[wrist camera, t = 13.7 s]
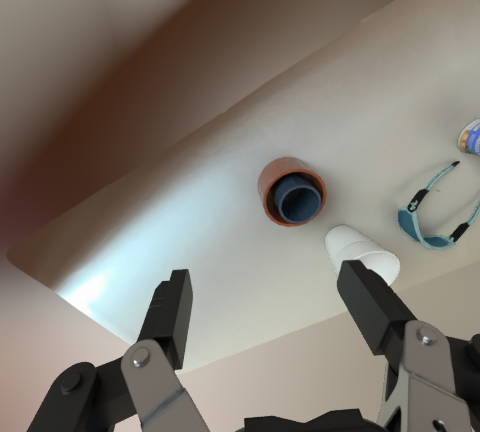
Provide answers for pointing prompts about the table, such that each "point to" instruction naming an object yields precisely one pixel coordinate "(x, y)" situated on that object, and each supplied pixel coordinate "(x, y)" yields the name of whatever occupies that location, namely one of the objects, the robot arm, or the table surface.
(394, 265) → the cup
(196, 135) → the table surface
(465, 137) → the pill bottle
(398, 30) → the table surface
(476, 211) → the sunglasses
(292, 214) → the slate cup
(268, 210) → the terracotta cup
